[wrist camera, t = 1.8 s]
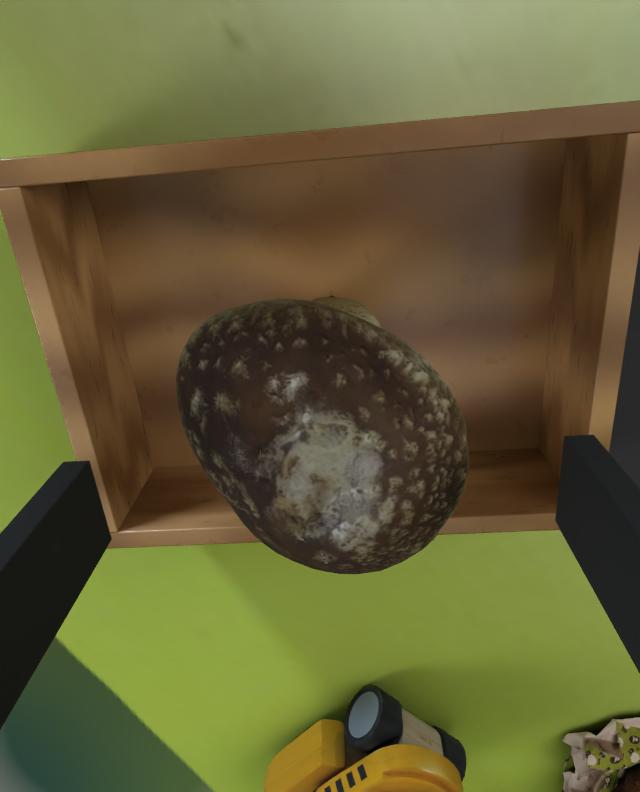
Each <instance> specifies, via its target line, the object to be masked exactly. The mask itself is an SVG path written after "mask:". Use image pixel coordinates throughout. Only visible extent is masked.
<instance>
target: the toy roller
mask: <svg viewBox="0 0 640 792" xmlns="http://www.w3.org/2000/svg"><path fill="white" fill-rule="evenodd" d="M465 770H466V755H465V750H464V748H463V746H462V744H461V743H460V741H459V740H457V739H455V738H454V737H452V736H451V735H449V734H448V733H446V732H445V731H443V730H441V729H440V728H438V727H436V726H430V725H428V724H426V723H425V722H423V721H422V720H420V719H419V718H417V717H416V716H414V715H413V714H411V713H409V712H408V711H406V710H405V709H403V708H402V707H401V704H400V703H399V701H398V700H396V699H395V698H393V697H392V696H390V695H389V694H387V693H386V692H384V691H383V690H381V689H380V688H378V687H376V686H373V685H369V686H366V687H363V688H362V689H361V690H360V691H359V692H358V693H357V694H356V695H355V696H354V698H353V700H352V701H351V703H350V705H349V707H348V710H347V713H346V716H345V723H342V722H341V721H338V720H330V719H321V720H319V721H318V722H317V723H315V724H314V725H313V726H311V727H310V728H309V729H308V730H306V731H305V732H304V733H302V734H301V735H300V736H299V737H297V738H296V739H295V740H294V741H292V742H291V743H290V744H289V745H287V746H286V747H285V748H284V749H283V750H281V751H280V752H279V753H278V754H277V755H276V756H275V757H273V759H272V760H271V762H270V764H269V766H268V769H267V772H266V777H265V785H264V792H463V787H462V780H463V778H464V776H465Z"/></svg>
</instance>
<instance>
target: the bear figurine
mask: <svg viewBox="0 0 640 792" xmlns="http://www.w3.org/2000/svg"><path fill="white" fill-rule="evenodd" d="M562 741H563V742H565V743H567V744H568V745H570V746H572V749H571V752H570V754H569V756H568V758H567V759H566V760H565V765H566V763H567V762H568V760H569V758H570V757H571V756H572V758H573V761H574V765H575V769H576V770H575V772H574V773H572V772H570V771H568V772H563V776H564V786H563V791H562V792H640V717H637V718H628V719H619V720H617V719H612V721H611V722H610V723H609V724H608V725H607V726H606V727H605V728H604V729H603V730H602V731H601V732H600V733H599V734H598V735H597V736H596V735H594V734H592V733H590V732H579V733H569V734H566V736H565V737H564V738H563V740H562ZM565 765H564V767H565ZM563 770H564V769H563Z"/></svg>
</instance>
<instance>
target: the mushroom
mask: <svg viewBox="0 0 640 792" xmlns="http://www.w3.org/2000/svg"><path fill="white" fill-rule="evenodd" d="M176 392H177V402H178V407H179V413H180V419H181V422H182V425H183V428H184V431H185V434H186V436H187V439H188V441H189V443H190V446H191V448H192V450H193V452H194V453H195V455H196V457H197V458H198V460H199V462H200V463H201V465H202V467H203V468H204V470H205V472H206V473H207V475H208V477H209V478H210V480H211V481H212V483H213V484H214V485H215V487H216V488H217V489H218V491H219V492H220V493H221V494H222V496H223V497H224V498H225V500H226V501H227V502H228V503H229V505H230V506H231V508H232V509H233V510H234V512H235V513H236V514H237V516H238V517H239V519H240V520H241V521H242V523H243V524H244V525H245V526H246V527H247V528H248V529H249V530H250V531H251V533H252V534H253V535H254V536H255V537H256V538H257V539H259V540H260V541H261V542H263V543H264V544H265V545H267V546H268V547H270V548H271V549H272V550H274V551H275V552H277V553H278V554H280V555H282V556H284V557H286V558H288V559H290V560H292V561H295V562H297V563H300V564H303V565H305V566H308V567H310V568H313V569H317V570H321V571H326V572H332V573H339V574H362V573H368V572H375V571H381V570H383V569H386V568H388V567H391V566H393V565H396V564H398V563H401V562H403V561H404V560H406V559H408V558H409V557H411V556H413V555H414V554H416V553H417V552H419V551H421V550H422V549H423V548H425V547H426V546H427V545H428V544H429V543H430V542H431V541H432V540H433V539H434V538H435V537H436V535H437V534H438V533H439V531H440V530H441V528H442V527H443V526H444V524H445V523H446V521H447V520H448V519H449V517H450V516H451V515H452V513H453V512H454V511H455V509H456V506H457V503H458V500H459V498H460V497H461V495H462V493H463V491H464V490H465V488H466V478H467V474H468V470H469V454H468V436H467V427H466V423H465V420H464V417H463V414H462V411H461V408H460V405H459V402H458V401H457V399H456V397H455V396H454V394H453V392H452V391H451V389H450V387H449V386H448V384H447V383H446V382H445V381H444V380H443V379H442V377H441V376H440V375H439V374H438V373H437V372H436V370H435V369H434V368H433V367H432V366H431V364H430V363H429V362H428V361H427V360H426V359H425V358H424V357H423V356H422V355H421V354H420V353H419V352H418V351H417V350H416V349H415V348H413V347H412V346H411V345H409V344H408V343H406V342H405V341H404V340H402V339H401V338H399V337H397V336H395V335H394V334H392V333H390V332H388V331H386V330H384V329H383V327H381V326H380V323H379V321H378V320H377V319H376V317H375V316H374V315H373V314H372V312H371V311H370V310H369V309H368V308H366V307H365V306H364V305H362V304H361V303H359V302H356V301H354V300H350V299H346V298H336V297H334V296H329V297H323V298H315V299H314V300H312V301H306V300H296V299H283V298H281V299H273V300H266V301H260V302H254V303H251V304H247V305H244V306H240V307H236V308H232V309H229V310H226V311H223V312H220V313H217V314H215V315H213V316H211V317H210V318H208V319H207V320H205V321H204V322H203V323H202V324H201V325H200V326H199V327H198V328H197V329H196V330H195V331H194V332H193V333H192V334H191V336H190V338H189V340H188V341H187V343H186V345H185V346H184V348H183V350H182V354H181V357H180V360H179V364H178V368H177V375H176Z"/></svg>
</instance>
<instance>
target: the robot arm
mask: <svg viewBox="0 0 640 792" xmlns="http://www.w3.org/2000/svg"><path fill="white" fill-rule="evenodd" d="M555 521H556V523H557V525H558V527H559V528H560V530H561V532H562V534H563V536H564V538H565V539H566V541H567V543H568V545H569V547H570V548H571V550H572V552H573V554H574V556H575V557H576V559H577V561H578V563H579V565H580V566H581V568H582V570H583V572H584V574H585V575H586V577H587V579H588V581H589V583H590V584H591V586H592V588H593V590H594V592H595V593H596V595H597V597H598V599H599V601H600V603H601V604H602V606H603V608H604V610H605V612H606V613H607V615H608V617H609V619H610V621H611V622H612V624H613V626H614V628H615V630H616V631H617V633H618V635H619V637H620V639H621V640H622V642H623V644H624V646H625V648H626V649H627V651H628V653H629V655H630V657H631V659H632V660H633V662H634V664H635V666H636V668H637V669H638V671H639V673H640V489H639V488H638V486H637V485H636V484H635V483H634V482H633V480H632V479H631V478H630V477H629V476H628V475H627V473H626V472H625V471H624V470H623V469H622V467H621V466H620V465H619V464H618V463H617V462H616V460H615V459H614V458H613V457H612V456H611V454H610V453H609V452H608V451H607V450H606V449H605V447H604V446H603V445H602V444H601V443H600V441H599V440H598V439H597V438H596V437H595V436H594V435H575V436H564V442H563V452H562V461H561V471H560V480H559V490H558V499H557V509H556V518H555ZM111 540H112V538H111V534H110V531H109V527H108V524H107V520H106V517H105V513H104V510H103V506H102V503H101V499H100V496H99V492H98V489H97V485H96V482H95V478H94V475H93V471H92V468H91V464H90V461H72V462H63V463H62V464H61V465H60V466H59V468H58V469H57V470H56V471H55V472H54V473H53V474H52V476H51V477H50V478H49V479H48V480H47V481H46V482H45V484H44V485H43V486H42V487H41V488H40V489H39V490H38V492H37V493H36V494H35V495H34V496H33V497H32V498H31V499H30V501H29V502H28V503H27V504H26V505H25V506H24V507H23V509H22V510H21V511H20V512H19V513H18V514H17V515H16V517H15V518H14V519H13V520H12V521H11V522H10V523H9V525H8V526H7V527H6V528H5V529H4V530H3V531H2V533H1V534H0V729H1V727H2V726H3V724H4V722H5V721H6V719H7V717H8V716H9V714H10V712H11V710H12V709H13V707H14V705H15V703H16V702H17V700H18V698H19V697H20V695H21V693H22V691H23V690H24V688H25V686H26V685H27V683H28V681H29V680H30V678H31V676H32V675H33V673H34V671H35V669H36V668H37V666H38V664H39V663H40V661H41V659H42V657H43V656H44V654H45V652H46V651H47V649H48V647H49V646H50V644H51V642H52V640H53V639H54V637H55V635H56V634H57V632H58V630H59V629H60V627H61V625H62V623H63V622H64V620H65V618H66V617H67V615H68V613H69V611H70V610H71V608H72V606H73V605H74V603H75V601H76V599H77V598H78V596H79V594H80V593H81V591H82V589H83V588H84V586H85V584H86V582H87V581H88V579H89V577H90V576H91V574H92V572H93V570H94V569H95V567H96V565H97V564H98V562H99V560H100V559H101V557H102V555H103V553H104V552H105V550H106V548H107V547H108V545H109V543H110V541H111Z"/></svg>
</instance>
